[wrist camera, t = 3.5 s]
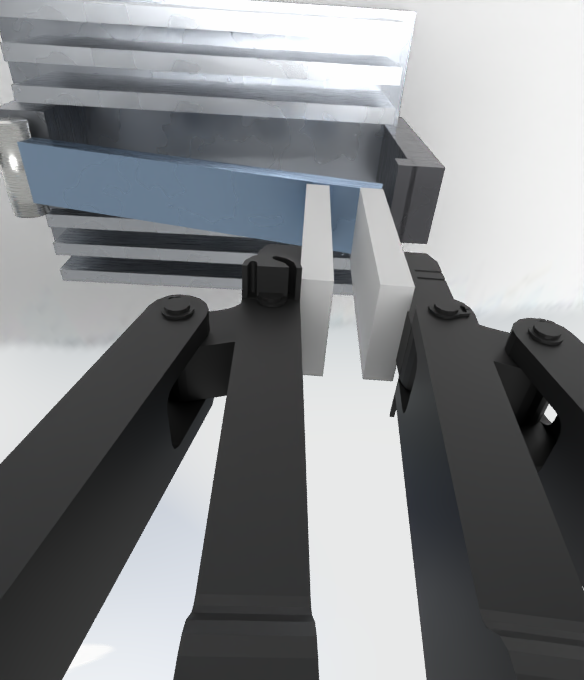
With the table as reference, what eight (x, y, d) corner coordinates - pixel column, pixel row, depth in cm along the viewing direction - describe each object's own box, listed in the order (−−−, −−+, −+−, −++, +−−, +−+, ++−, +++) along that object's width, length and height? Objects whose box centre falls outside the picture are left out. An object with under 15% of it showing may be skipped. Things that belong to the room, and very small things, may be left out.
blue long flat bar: (29, 203, 21) (6, 214, 20) (4, 115, 19) (-23, 122, 18) (370, 259, 18) (365, 275, 17) (386, 163, 16) (382, 175, 15)
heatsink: (70, 234, 28) (-6, 314, 21) (11, -16, 21) (-134, -22, 14) (378, 250, 29) (404, 334, 22) (420, 11, 22) (480, 19, 15)
